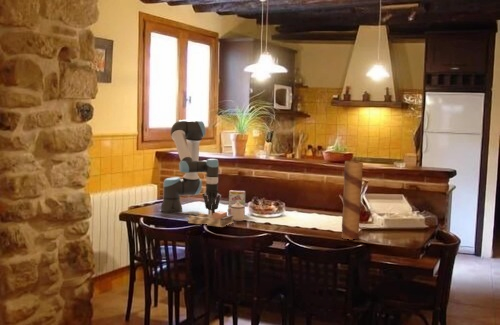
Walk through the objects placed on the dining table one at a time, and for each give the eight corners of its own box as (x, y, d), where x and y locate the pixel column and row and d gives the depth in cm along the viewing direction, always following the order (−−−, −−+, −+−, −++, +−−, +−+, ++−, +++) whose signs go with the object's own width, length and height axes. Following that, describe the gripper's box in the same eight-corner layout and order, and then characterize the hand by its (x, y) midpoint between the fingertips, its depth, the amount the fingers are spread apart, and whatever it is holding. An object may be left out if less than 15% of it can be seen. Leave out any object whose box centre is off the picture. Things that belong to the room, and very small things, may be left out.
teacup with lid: (246, 219, 382) (247, 201, 381) (240, 221, 374) (240, 203, 373) (231, 217, 388) (231, 200, 387) (224, 219, 380) (224, 201, 379)
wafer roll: (351, 235, 340) (354, 160, 336) (362, 239, 331) (366, 162, 327) (337, 237, 335) (340, 160, 331) (348, 241, 326) (351, 162, 322)
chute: (188, 222, 366) (188, 214, 365) (199, 219, 378) (199, 211, 378) (222, 227, 355) (222, 218, 354) (233, 223, 367) (233, 215, 367)
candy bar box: (228, 214, 396) (228, 191, 394) (228, 213, 401) (229, 190, 399) (244, 215, 395) (244, 191, 393) (244, 214, 400) (245, 190, 398)
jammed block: (212, 222, 361) (212, 213, 361) (218, 220, 368) (218, 211, 368) (220, 223, 359) (221, 214, 358) (226, 221, 366) (227, 212, 365)
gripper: (200, 183, 363) (199, 219, 366) (218, 184, 358) (217, 222, 360) (206, 181, 370) (205, 217, 372) (224, 183, 364) (223, 220, 367)
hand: (211, 219), depth 366 cm, fingers closed
